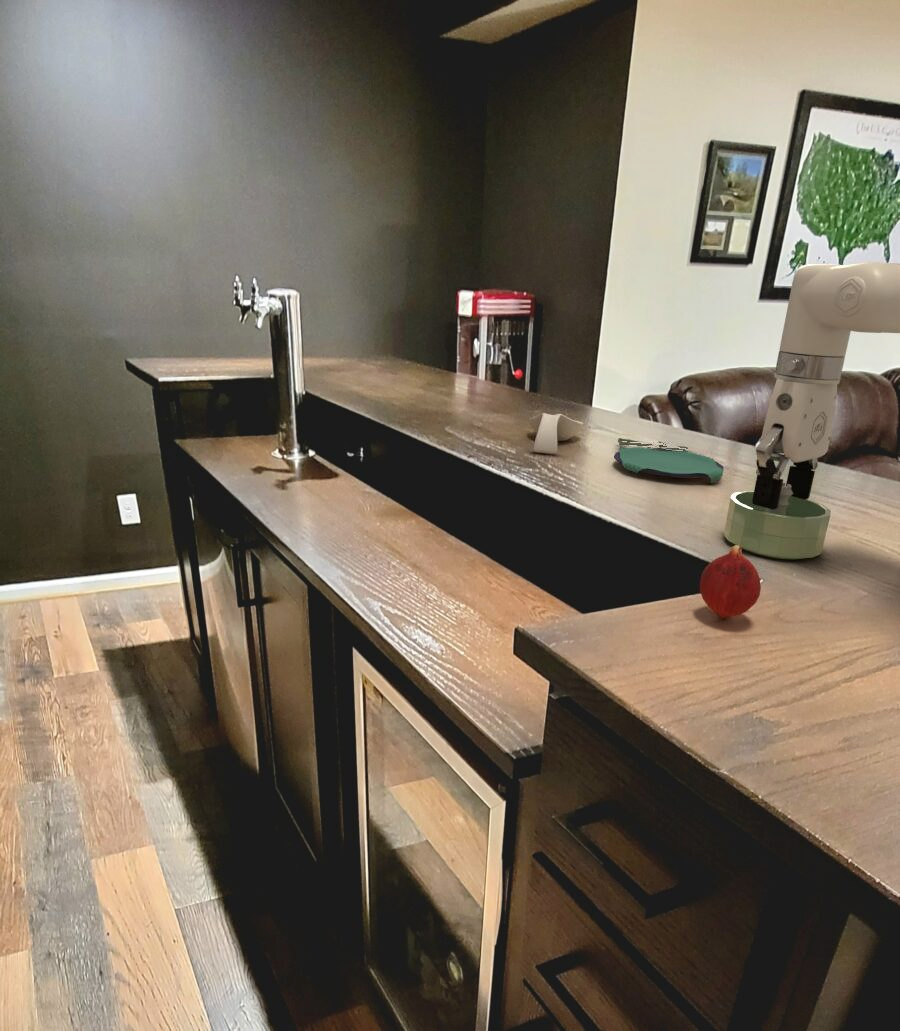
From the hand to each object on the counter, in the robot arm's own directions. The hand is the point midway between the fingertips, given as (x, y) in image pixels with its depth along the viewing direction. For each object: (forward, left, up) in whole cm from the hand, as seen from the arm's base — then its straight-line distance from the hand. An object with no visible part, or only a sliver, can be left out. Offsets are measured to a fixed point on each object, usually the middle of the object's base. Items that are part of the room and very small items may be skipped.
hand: (780, 501), depth 96 cm
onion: (+13, +25, -7) cm, 29 cm away
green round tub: (0, 0, -6) cm, 6 cm away
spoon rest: (+27, -56, -7) cm, 63 cm away
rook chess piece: (0, 0, -6) cm, 6 cm away
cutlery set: (+6, -44, -7) cm, 45 cm away
